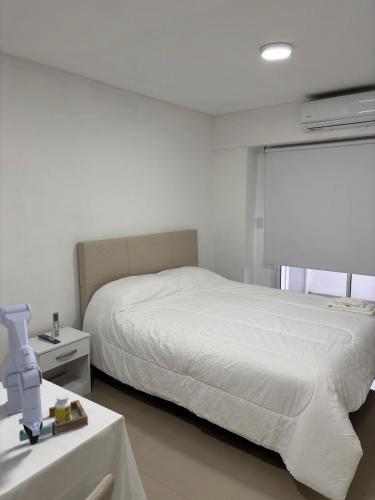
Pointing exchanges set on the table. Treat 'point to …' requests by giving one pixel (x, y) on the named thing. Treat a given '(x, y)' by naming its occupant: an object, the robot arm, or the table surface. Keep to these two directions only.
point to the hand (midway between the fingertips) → (33, 443)
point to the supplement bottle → (62, 409)
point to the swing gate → (43, 431)
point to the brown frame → (70, 423)
